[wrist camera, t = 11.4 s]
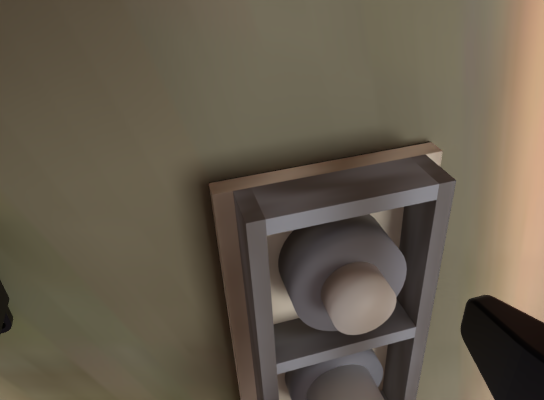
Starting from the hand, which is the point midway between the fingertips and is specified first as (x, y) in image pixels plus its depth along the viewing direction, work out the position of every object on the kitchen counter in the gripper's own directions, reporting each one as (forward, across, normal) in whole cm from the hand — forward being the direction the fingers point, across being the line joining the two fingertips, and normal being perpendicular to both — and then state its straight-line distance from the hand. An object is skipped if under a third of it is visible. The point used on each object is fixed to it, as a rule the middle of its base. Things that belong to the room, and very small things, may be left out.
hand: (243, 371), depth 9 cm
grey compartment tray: (+13, -6, +13) cm, 20 cm away
